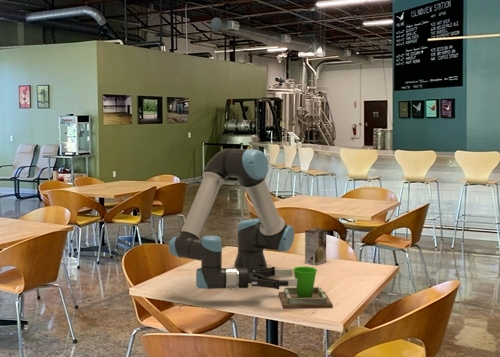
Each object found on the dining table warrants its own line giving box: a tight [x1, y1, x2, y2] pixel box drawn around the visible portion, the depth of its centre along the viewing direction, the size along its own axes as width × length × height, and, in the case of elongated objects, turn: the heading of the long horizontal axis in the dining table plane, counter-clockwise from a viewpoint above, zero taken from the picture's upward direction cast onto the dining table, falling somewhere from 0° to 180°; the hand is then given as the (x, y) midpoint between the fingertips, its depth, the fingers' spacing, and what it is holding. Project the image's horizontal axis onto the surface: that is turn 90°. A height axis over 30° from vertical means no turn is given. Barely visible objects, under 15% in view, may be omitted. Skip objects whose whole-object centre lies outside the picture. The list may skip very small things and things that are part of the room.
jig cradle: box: [278, 286, 334, 309], centre depth 209 cm, size 16×18×3 cm
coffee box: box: [304, 227, 327, 266], centre depth 267 cm, size 9×6×16 cm
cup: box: [292, 265, 318, 298], centre depth 208 cm, size 9×9×11 cm
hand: (294, 277), depth 208 cm, fingers open, 13 cm apart
